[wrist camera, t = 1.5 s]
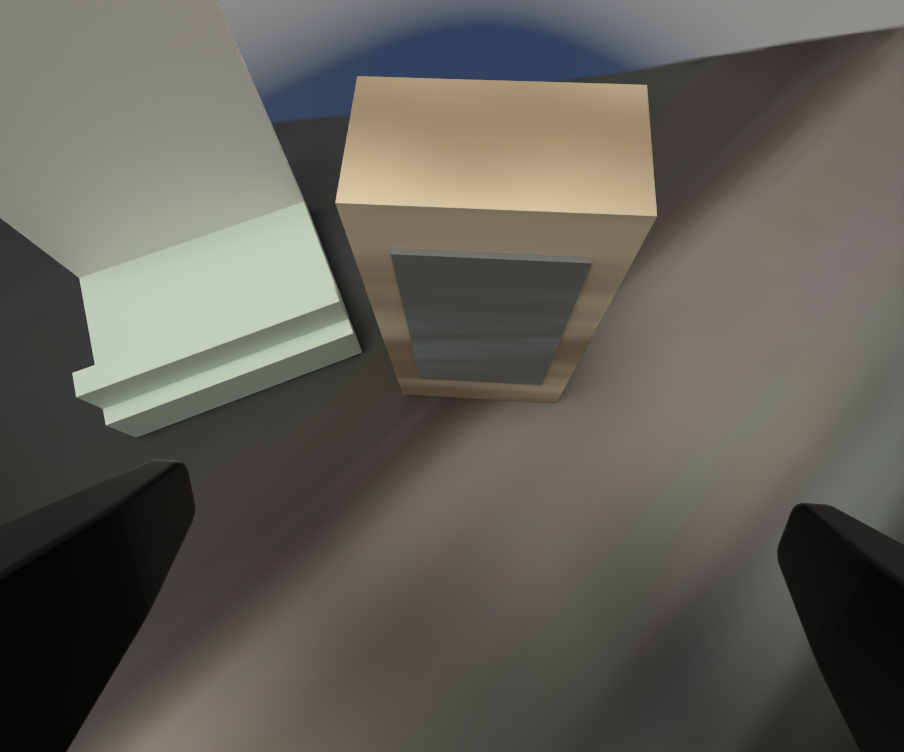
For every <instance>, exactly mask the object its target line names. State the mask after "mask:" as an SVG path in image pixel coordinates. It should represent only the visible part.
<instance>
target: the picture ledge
mask: <svg viewBox="0 0 904 752" xmlns="http://www.w3.org/2000/svg"><path fill="white" fill-rule="evenodd" d="M0 218H1V219H3V220H4V221H5V222H7V223H8V224H9V225H10V226H12V227H13V228H14V229H16V230H17V231H18V232H20V233H21V234H22V235H24V236H25V237H26V238H28V239H29V240H30V241H31V242H33V243H34V244H35V245H37V246H38V247H39V248H41V249H42V250H43V251H45V252H46V253H47V254H49V255H50V256H51V257H52V258H54V259H55V260H56V261H58V262H59V263H60V264H62V265H63V266H64V267H66V268H67V269H68V270H70V271H71V272H72V273H73V274H75V275H76V276H77V277H79V279H80V285H81V290H82V296H83V301H84V307H85V312H86V318H87V323H88V329H89V334H90V340H91V345H92V351H93V357H94V362H95V365H94V366H91V367H88V368H85V369H82V370H80V371H77V372H74V373H73V380H74V386H75V392H76V397H77V398H80V399H82V400H84V401H86V402H88V403H91V404H93V405H95V406H97V407H100V408H102V409H103V412H104V417H105V423H106V426H109V427H111V428H114V429H116V430H119V431H121V432H124V433H126V434H128V435H131V436H133V437H136V438H137V437H139V436H142V435H145V434H147V433H150V432H153V431H155V430H158V429H161V428H163V427H166V426H169V425H171V424H174V423H177V422H179V421H182V420H185V419H187V418H190V417H193V416H195V415H198V414H200V413H203V412H206V411H208V410H211V409H214V408H216V407H219V406H222V405H224V404H227V403H230V402H232V401H235V400H238V399H240V398H243V397H246V396H248V395H251V394H254V393H256V392H259V391H261V390H264V389H267V388H269V387H272V386H275V385H277V384H280V383H283V382H285V381H288V380H291V379H293V378H296V377H299V376H301V375H304V374H307V373H309V372H312V371H315V370H317V369H320V368H323V367H325V366H328V365H330V364H333V363H336V362H338V361H341V360H344V359H346V358H349V357H352V356H354V355H357V354H360V353H362V350H361V348H360V345H359V342H358V340H357V337H356V334H355V332H354V329H353V326H352V324H351V321H350V318H349V316H348V313H347V310H346V308H345V305H344V302H343V300H342V297H341V294H340V292H339V289H338V287H337V284H336V281H335V279H334V276H333V273H332V271H331V268H330V265H329V263H328V260H327V257H326V255H325V252H324V249H323V247H322V244H321V241H320V239H319V236H318V233H317V231H316V228H315V225H314V223H313V220H312V217H311V215H310V212H309V210H308V207H307V205H306V203H305V200H304V198H303V196H302V193H301V191H300V189H299V186H298V184H297V182H296V180H295V177H294V175H293V173H292V170H291V168H290V166H289V163H288V161H287V159H286V157H285V154H284V152H283V150H282V147H281V145H280V143H279V140H278V138H277V136H276V133H275V131H274V129H273V127H272V124H271V122H270V120H269V118H268V115H267V113H266V110H265V108H264V106H263V104H262V101H261V99H260V97H259V94H258V92H257V90H256V87H255V85H254V83H253V80H252V78H251V76H250V73H249V71H248V69H247V67H246V64H245V62H244V60H243V57H242V55H241V53H240V50H239V48H238V46H237V43H236V41H235V39H234V37H233V34H232V32H231V30H230V27H229V25H228V23H227V20H226V18H225V16H224V13H223V12H222V9H221V7H220V4H219V2H218V0H0Z"/></svg>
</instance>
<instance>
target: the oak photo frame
mask: <svg viewBox="0 0 904 752" xmlns="http://www.w3.org/2000/svg"><path fill="white" fill-rule="evenodd" d="M335 203H336V206H337V209H338V212H339V215H340V218H341V220H342V223H343V226H344V229H345V232H346V235H347V237H348V240H349V243H350V246H351V249H352V252H353V254H354V257H355V260H356V263H357V266H358V269H359V272H360V274H361V277H362V280H363V283H364V286H365V289H366V291H367V294H368V297H369V300H370V303H371V306H372V308H373V311H374V314H375V317H376V320H377V323H378V326H379V328H380V331H381V334H382V337H383V340H384V343H385V345H386V348H387V351H388V354H389V357H390V360H391V362H392V365H393V368H394V371H395V374H396V377H397V379H398V382H399V385H400V388H401V391H402V394H405V395H423V396H440V397H457V398H475V399H492V400H510V401H527V402H545V403H557V401H558V399H559V398H560V396H561V394H562V392H563V390H564V388H565V386H566V385H567V383H568V381H569V379H570V377H571V375H572V373H573V371H574V370H575V368H576V366H577V364H578V362H579V360H580V358H581V357H582V355H583V353H584V351H585V349H586V347H587V345H588V344H589V342H590V340H591V338H592V336H593V334H594V332H595V331H596V329H597V327H598V325H599V323H600V321H601V319H602V318H603V316H604V314H605V312H606V310H607V308H608V306H609V305H610V303H611V301H612V299H613V297H614V295H615V293H616V292H617V290H618V288H619V286H620V284H621V282H622V280H623V279H624V277H625V275H626V273H627V271H628V269H629V267H630V266H631V264H632V262H633V260H634V258H635V256H636V254H637V252H638V251H639V249H640V247H641V245H642V243H643V241H644V239H645V238H646V236H647V234H648V232H649V230H650V228H651V226H652V225H653V223H654V221H655V219H656V217H657V210H656V197H655V184H654V171H653V158H652V145H651V133H650V120H649V107H648V94H647V85H630V84H597V83H564V82H531V81H529V82H527V81H496V80H464V79H463V80H462V79H431V78H429V79H428V78H397V77H396V78H395V77H363V76H357V81H356V87H355V93H354V99H353V104H352V110H351V116H350V122H349V127H348V133H347V139H346V145H345V150H344V156H343V162H342V168H341V174H340V179H339V185H338V191H337V197H336V202H335Z"/></svg>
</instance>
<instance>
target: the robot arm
mask: <svg viewBox="0 0 904 752" xmlns="http://www.w3.org/2000/svg"><path fill="white" fill-rule="evenodd" d="M194 515H195V501H194V497H193V492H192V487H191V482H190V478H189V473H188V469H187V467H186V465H185V464H184V463H183V462H181V461H173V460H153V461H150V462H148V463H146V464H143V465H141V466H139V467H136V468H134V469H132V470H129V471H127V472H125V473H122V474H120V475H118V476H115V477H113V478H111V479H108V480H106V481H104V482H101V483H99V484H97V485H94V486H92V487H90V488H87V489H85V490H83V491H80V492H78V493H76V494H73V495H71V496H69V497H66V498H64V499H62V500H59V501H57V502H55V503H52V504H50V505H48V506H45V507H43V508H41V509H38V510H36V511H34V512H31V513H29V514H26V515H24V516H22V517H19V518H17V519H15V520H12V521H10V522H8V523H5V524H3V525H1V526H0V752H67V750H68V748H69V747H70V745H71V743H72V742H73V740H74V738H75V737H76V735H77V733H78V732H79V730H80V728H81V727H82V725H83V723H84V722H85V720H86V718H87V717H88V715H89V713H90V712H91V710H92V708H93V707H94V705H95V703H96V702H97V700H98V698H99V697H100V695H101V693H102V692H103V690H104V688H105V687H106V685H107V683H108V682H109V680H110V678H111V676H112V675H113V673H114V671H115V670H116V668H117V666H118V665H119V663H120V661H121V660H122V658H123V656H124V655H125V653H126V651H127V650H128V648H129V646H130V645H131V643H132V641H133V640H134V638H135V636H136V635H137V633H138V631H139V630H140V628H141V626H142V624H143V623H144V621H145V619H146V617H147V616H148V614H149V612H150V610H151V608H152V606H153V604H154V602H155V600H156V598H157V596H158V594H159V592H160V590H161V588H162V586H163V584H164V581H165V579H166V577H167V575H168V573H169V571H170V569H171V567H172V564H173V562H174V560H175V558H176V556H177V554H178V552H179V549H180V547H181V545H182V543H183V541H184V539H185V537H186V535H187V532H188V530H189V528H190V526H191V524H192V522H193V519H194ZM777 556H778V562H779V566H780V568H781V571H782V574H783V576H784V579H785V582H786V584H787V587H788V589H789V592H790V595H791V597H792V600H793V603H794V605H795V608H796V611H797V613H798V616H799V618H800V621H801V624H802V626H803V629H804V632H805V634H806V637H807V640H808V642H809V645H810V647H811V650H812V652H813V655H814V657H815V660H816V662H817V664H818V667H819V669H820V671H821V673H822V675H823V678H824V680H825V682H826V684H827V686H828V688H829V690H830V692H831V694H832V696H833V698H834V700H835V702H836V704H837V706H838V708H839V710H840V712H841V714H842V716H843V718H844V720H845V722H846V724H847V726H848V728H849V730H850V732H851V734H852V736H853V738H854V740H855V742H856V745H857V747H858V749H859V751H860V752H904V545H903V544H901V543H899V542H897V541H896V540H894V539H892V538H890V537H888V536H886V535H884V534H883V533H881V532H879V531H877V530H875V529H873V528H871V527H870V526H868V525H866V524H864V523H862V522H860V521H858V520H857V519H855V518H853V517H851V516H849V515H847V514H845V513H844V512H842V511H840V510H838V509H836V508H834V507H832V506H830V505H826V504H811V503H800V504H797V505H796V506H795V507H794V508H793V509H792V511H791V513H790V516H789V518H788V521H787V524H786V526H785V529H784V532H783V534H782V537H781V540H780V542H779V545H778V551H777Z"/></svg>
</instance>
